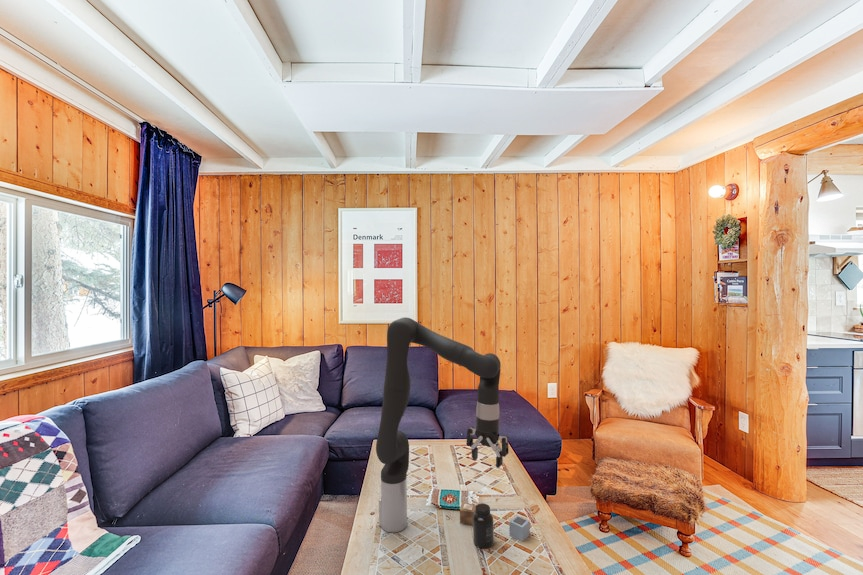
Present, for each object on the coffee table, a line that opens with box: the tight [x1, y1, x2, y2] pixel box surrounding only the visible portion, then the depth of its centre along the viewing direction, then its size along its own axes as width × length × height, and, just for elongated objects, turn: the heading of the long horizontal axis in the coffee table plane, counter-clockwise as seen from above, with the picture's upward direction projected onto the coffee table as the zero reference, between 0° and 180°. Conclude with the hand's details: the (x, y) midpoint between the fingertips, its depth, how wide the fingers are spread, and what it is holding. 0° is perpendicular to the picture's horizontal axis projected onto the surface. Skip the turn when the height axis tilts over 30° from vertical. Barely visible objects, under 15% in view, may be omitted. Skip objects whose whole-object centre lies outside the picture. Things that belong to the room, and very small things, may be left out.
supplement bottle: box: [472, 502, 495, 549], centre depth 134 cm, size 7×7×12 cm
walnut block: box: [459, 502, 477, 526], centre depth 146 cm, size 5×5×5 cm
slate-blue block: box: [509, 514, 531, 543], centre depth 137 cm, size 5×5×5 cm
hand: (486, 463), depth 132 cm, fingers open, 8 cm apart
